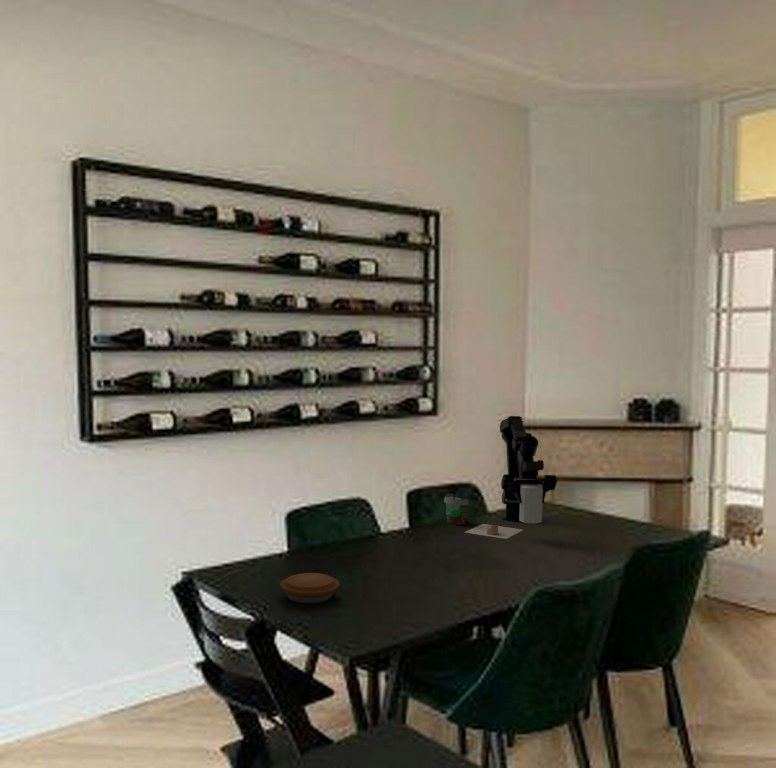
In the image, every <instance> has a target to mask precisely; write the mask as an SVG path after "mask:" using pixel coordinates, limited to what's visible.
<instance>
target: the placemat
mask: <svg viewBox="0 0 776 768" xmlns="http://www.w3.org/2000/svg"><path fill="white" fill-rule="evenodd" d="M489 525H490V524H487V523H482V524H479V525H477V526H475V527H473V528H470V529H468V530H466V531H464V533H465V534H472V535H479V536H486V537H493V538H498V539H499V538H500V539H503V540H508V539H510V538H511V537H513V536H515V535H517V534H519V533H521V532H522V531H523V529H520V528H514V527H509V526H507V527H506V526H502V525H501V526H499V525H497V526H498V534H497V535H489V534H487V526H489Z"/></svg>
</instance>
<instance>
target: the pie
mask: <svg viewBox="0 0 776 768" xmlns="http://www.w3.org/2000/svg"><path fill="white" fill-rule="evenodd" d="M279 585H280V587H281V589H282V590H283V592H284V593H285V595H286V596H287V599H289V600H290V601H292V602H294V603H298V604H308V605H309V604H319V603H324V602H326V601H328V600H330V599H331V598H332V596H333V594H335V591H336V590H337V589H338V588H339V587H340V585H341V584H340V581H339V579H337V578H334V577H333V576H330V575H329V574H325V573H318V572H303V573H296V574H293V575H290V576H288V577H287V578H285V579H283V580H282V581H280V584H279Z"/></svg>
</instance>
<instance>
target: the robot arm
mask: <svg viewBox="0 0 776 768" xmlns="http://www.w3.org/2000/svg"><path fill="white" fill-rule="evenodd" d="M499 432H500V433H501V439H502V440H503V441H504V443H505V444H506V445H505V446H506V465H507V473H505V474H503V475H502V478H501V481H500V482H501V483H500V487H501V489H502V494H501V503H502V504H503V505H505V516H504V517H502V520H504V519H505V521H511V522H521V521H520V520H519V514H520V503H521V496H520V487H521V485H524V484H533V485H540V486H542V487H543V499H542V504H544V503H545V499H546V495H547V494H546V493H548V492H550V491H554V490H555V489H556V486H557V483H558V477H557V476H556V475H555V474H544V476H543V478H537V477H538V476H539V471H543V470H544V469H545V464H544V460H542V459H541V460H539V459H538V460H537V461H535V460H534V458H535V455H536V453H537V450H538V446H539V439H538V438H537V437H535V436H534V435H532V433H530V432H527V431H526V430H525V426H524V421H523V418H522V416H521V415H510V416H507V417H506V418H504V419H502V420H501V422H500V424H499Z"/></svg>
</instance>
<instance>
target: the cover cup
mask: <svg viewBox="0 0 776 768" xmlns="http://www.w3.org/2000/svg"><path fill="white" fill-rule="evenodd" d="M520 496H521V503H520V514H519V520H520V521H519V522H521V523H525V524H540V523H542V522H543V503H542V499H543V487H542V486H541V485H533V484H524V485H521V487H520Z"/></svg>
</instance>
